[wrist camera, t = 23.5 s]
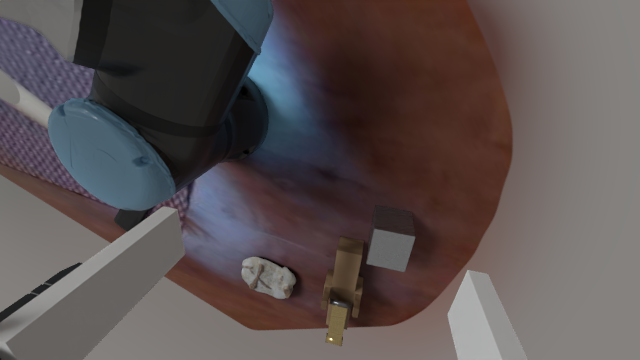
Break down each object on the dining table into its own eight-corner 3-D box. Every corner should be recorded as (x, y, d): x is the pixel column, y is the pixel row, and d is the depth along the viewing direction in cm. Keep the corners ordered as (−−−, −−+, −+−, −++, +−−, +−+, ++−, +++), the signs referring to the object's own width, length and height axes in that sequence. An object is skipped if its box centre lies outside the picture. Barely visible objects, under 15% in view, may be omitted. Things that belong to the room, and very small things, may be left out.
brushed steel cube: (368, 237, 50) (366, 263, 43) (375, 205, 46) (374, 228, 40) (401, 243, 49) (404, 272, 42) (411, 211, 45) (415, 236, 39)
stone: (242, 276, 61) (235, 287, 59) (248, 247, 57) (241, 258, 54) (291, 295, 61) (286, 307, 58) (301, 267, 57) (296, 279, 54)
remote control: (142, 177, 56) (117, 218, 62) (135, 180, 54) (110, 222, 60) (161, 192, 57) (135, 232, 63) (155, 196, 55) (128, 236, 61)
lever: (330, 295, 51) (324, 336, 54) (329, 302, 49) (323, 343, 53) (352, 300, 50) (344, 341, 54) (351, 307, 48) (343, 348, 52)
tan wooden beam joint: (323, 306, 60) (316, 336, 53) (332, 234, 51) (325, 261, 44) (355, 314, 59) (351, 346, 52) (371, 242, 50) (369, 270, 43)
